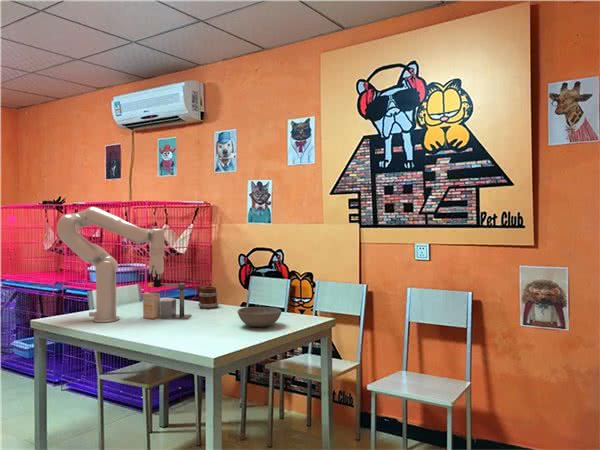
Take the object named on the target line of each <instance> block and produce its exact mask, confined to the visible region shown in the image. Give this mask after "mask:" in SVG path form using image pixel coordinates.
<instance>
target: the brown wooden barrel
mask: <svg viewBox="0 0 600 450" xmlns="http://www.w3.org/2000/svg"><path fill="white" fill-rule="evenodd" d="M196 293H197V298H198V304H197V305H198V307H199V309H201V310H214V309H218V306H219V301H218V298H217V297H218V294H219V293H218V292H217V287H216V286H202V285H201V284H197V291H196Z"/></svg>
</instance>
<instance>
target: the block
mask: <svg viewBox="0 0 600 450" xmlns="http://www.w3.org/2000/svg"><path fill="white" fill-rule="evenodd" d="M176 314H177V299H176V298H164V299H162V300H160V318H159V320H173V319H172V317H174V316H175V315H176Z"/></svg>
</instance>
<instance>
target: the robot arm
mask: <svg viewBox="0 0 600 450" xmlns="http://www.w3.org/2000/svg"><path fill="white" fill-rule="evenodd" d="M89 226H97V227H99V228H101V229H104V230H106V231H108V232H111V233H113V234H116V235H119V236H120V237H123V238H126V239H128V240H129V241H133V242H135V243H137V244H143V243H147V242H149V263H148V264H149V265H148V266H149V267H148V274H149V275H152V277H153V278H152V279H153V283H154V286H153V287H154V288H161V287H162V286H161V283H162V274H163V273H164V272H165V266H164V265H165V262H164V261H165V260H164V255H165V230H164V229H163V228H151V229H150V228H143V227H139V226H137V225H135V224H133V223H130V222H128V221H126V220H124V219H123V218H122V217H120V216H117V215H116V214H114V213H110V212H108V211H106V210H104V209H101V208H100V207H98V206H89V207H87V208H86V209H85V210H81V211H79V212H78V211H77V212H75V213H74V212H73V213H65V214H63V215H61V216H60V218H59V219H58V221H57V224H56V231H57V237H59V238H60V241H62V243H63V244H65V245H66V246H67V247H68V248H69V249H70V250H71V251H72V252H73V253H74V254H76V255H77V256H78V257H79V258H80V259H81V260H82V261H83V262H85V263H87V264H89V263H90V264H91V265H93V267H94V268H95V270H94V271H95V291H96V292H95V295H96V297H95V298H96V299H95V300H96V304H95V305H96V306H95V307H96V309H95V311H93V312H91V311H90V312H89V313H88V316H89V317H93V319H92V321H93V322H94V323H111V322H117V321H119V320H120V318H121V317H120V316H118V315H117V277H116V276H117V273H116V272H117V271H118V269H119V264H118V261H117V260H116V259H115V257H113V256H112V255H111V254H109V253H108V252H107V251H106V250H105V249H104V248H103V247H101V246H100V245H98V244H96V243H91V242H90V241H89V240H88V239H86V237H84V236H83V235H82V234H81V233H80V232H78V230H80V229H82V228H86V227H89Z"/></svg>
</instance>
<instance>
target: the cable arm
mask: <svg viewBox="0 0 600 450" xmlns="http://www.w3.org/2000/svg"><path fill="white" fill-rule="evenodd" d="M147 287H154V282H148V283H147ZM161 287H175V288H177V287H178V288H184V289H185V288H186V283H185V282H180V283H162V282H161Z"/></svg>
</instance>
